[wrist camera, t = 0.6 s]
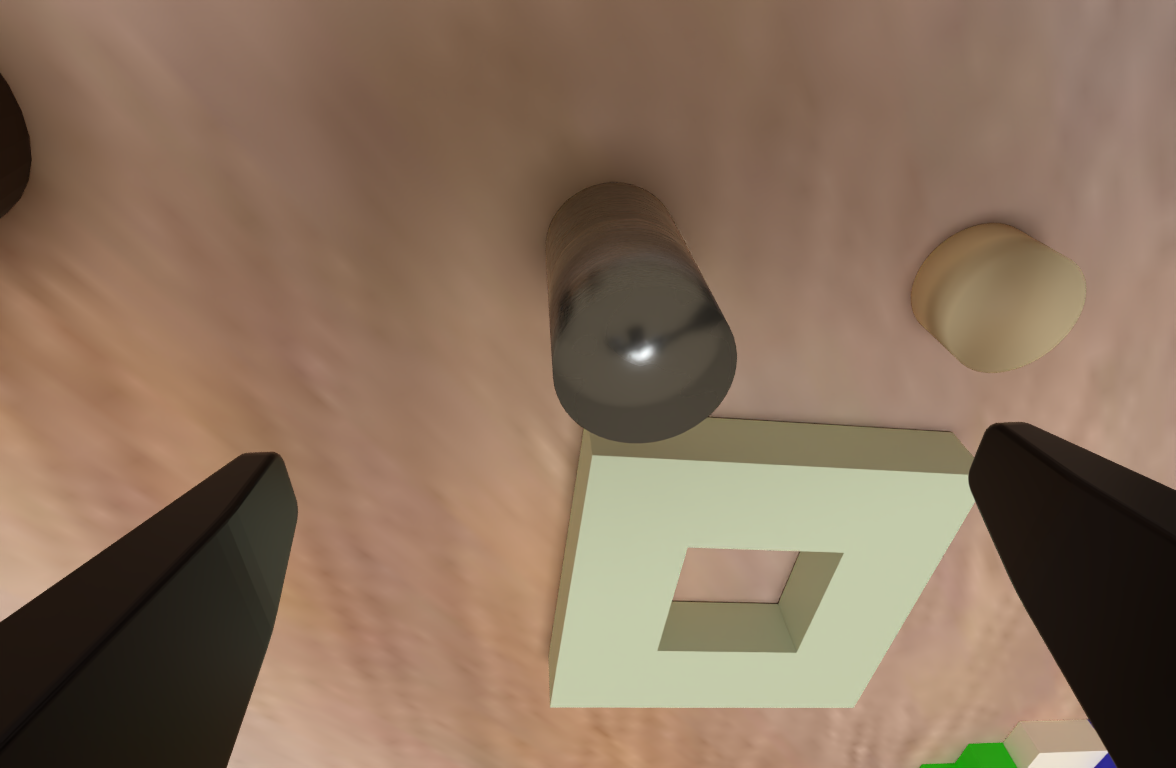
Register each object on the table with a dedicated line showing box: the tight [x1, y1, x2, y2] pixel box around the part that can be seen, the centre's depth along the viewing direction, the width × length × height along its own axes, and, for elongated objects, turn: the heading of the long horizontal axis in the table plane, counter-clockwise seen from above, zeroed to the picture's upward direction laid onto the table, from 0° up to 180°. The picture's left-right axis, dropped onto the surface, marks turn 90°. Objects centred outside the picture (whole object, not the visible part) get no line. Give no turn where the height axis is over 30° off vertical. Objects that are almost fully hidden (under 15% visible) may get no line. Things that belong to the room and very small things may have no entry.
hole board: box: [548, 417, 975, 708], centre depth 27 cm, size 14×14×2 cm
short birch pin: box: [911, 223, 1086, 373], centre depth 21 cm, size 4×4×2 cm
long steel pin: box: [545, 183, 737, 443], centre depth 17 cm, size 4×4×7 cm
